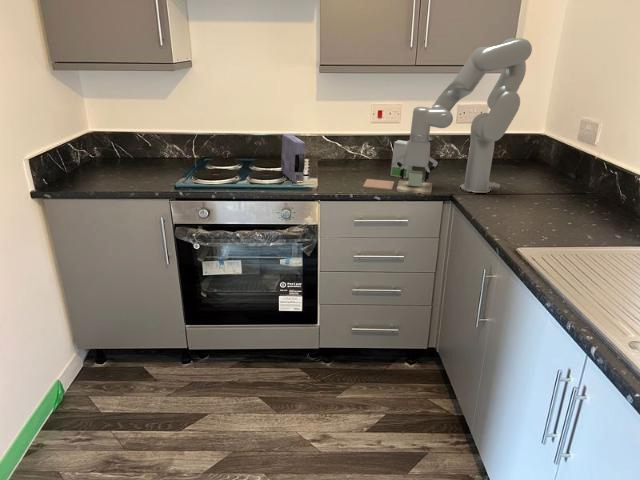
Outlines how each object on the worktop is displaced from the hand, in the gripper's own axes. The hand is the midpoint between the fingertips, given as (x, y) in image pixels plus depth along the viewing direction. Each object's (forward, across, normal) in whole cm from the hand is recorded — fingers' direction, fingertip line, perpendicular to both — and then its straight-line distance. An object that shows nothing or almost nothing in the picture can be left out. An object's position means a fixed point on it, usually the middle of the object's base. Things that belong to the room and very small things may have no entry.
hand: (413, 179), depth 207 cm
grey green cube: (+2, -1, 0) cm, 2 cm away
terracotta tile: (+4, +14, 0) cm, 15 cm away
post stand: (+4, -1, 0) cm, 4 cm away
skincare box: (+4, +6, -19) cm, 21 cm away
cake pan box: (+5, +52, +1) cm, 52 cm away
